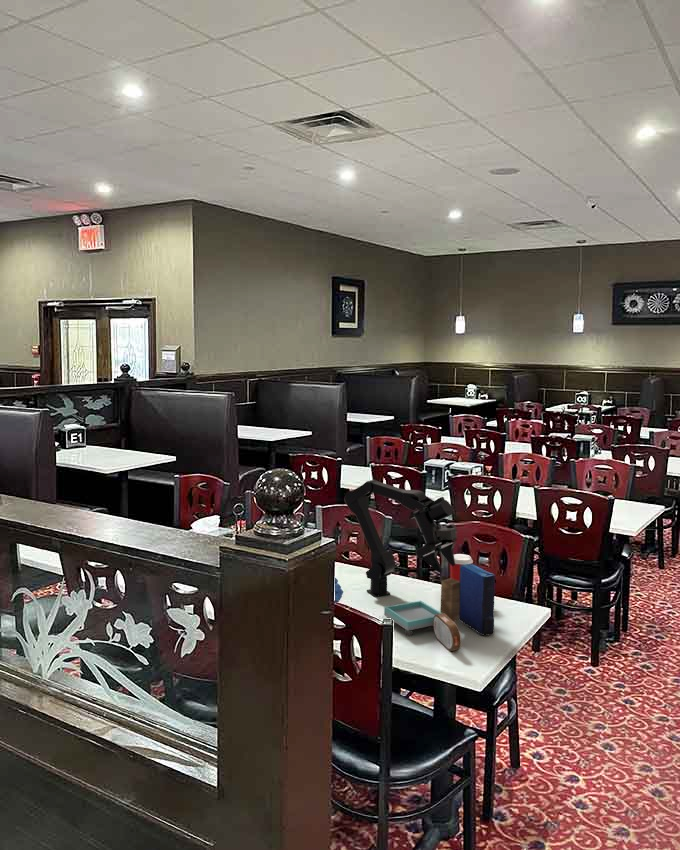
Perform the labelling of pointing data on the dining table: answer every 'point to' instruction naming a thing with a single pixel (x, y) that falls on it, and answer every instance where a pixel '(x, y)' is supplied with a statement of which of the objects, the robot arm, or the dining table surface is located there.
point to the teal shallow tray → (411, 615)
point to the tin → (447, 632)
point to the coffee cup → (459, 560)
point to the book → (477, 598)
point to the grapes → (338, 591)
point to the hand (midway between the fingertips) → (447, 569)
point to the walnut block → (450, 598)
